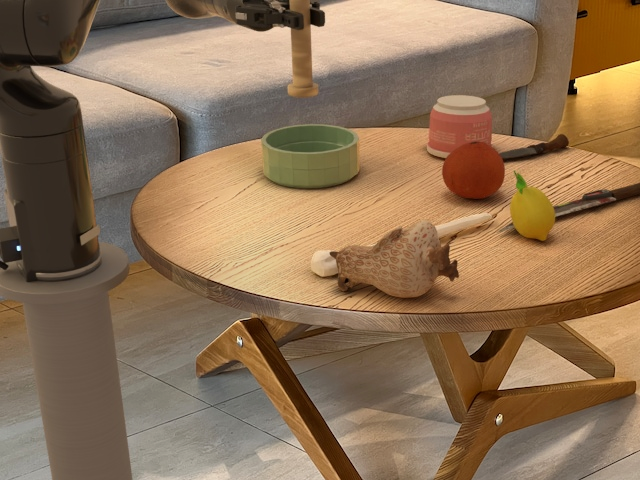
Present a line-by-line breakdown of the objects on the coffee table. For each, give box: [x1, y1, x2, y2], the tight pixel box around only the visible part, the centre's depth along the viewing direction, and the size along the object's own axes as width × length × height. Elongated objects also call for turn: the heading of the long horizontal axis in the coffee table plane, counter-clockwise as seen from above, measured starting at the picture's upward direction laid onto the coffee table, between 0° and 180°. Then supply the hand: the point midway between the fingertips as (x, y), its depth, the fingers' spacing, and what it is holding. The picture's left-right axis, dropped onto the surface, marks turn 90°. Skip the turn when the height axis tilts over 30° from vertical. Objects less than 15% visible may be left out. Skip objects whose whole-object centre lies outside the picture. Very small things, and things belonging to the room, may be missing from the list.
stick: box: [287, 0, 319, 98], centre depth 153 cm, size 4×4×18 cm
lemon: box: [509, 170, 556, 242], centre depth 141 cm, size 7×6×10 cm
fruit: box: [441, 141, 506, 200], centre depth 154 cm, size 9×9×8 cm
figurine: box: [330, 219, 460, 299], centre depth 127 cm, size 9×10×15 cm
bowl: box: [260, 123, 361, 189], centre depth 164 cm, size 14×14×6 cm
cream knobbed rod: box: [310, 212, 493, 278], centre depth 139 cm, size 28×4×3 cm, turn 128°
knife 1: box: [498, 133, 570, 160], centre depth 172 cm, size 17×2×5 cm
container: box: [426, 94, 494, 159], centre depth 172 cm, size 10×10×8 cm
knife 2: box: [496, 182, 640, 234], centre depth 150 cm, size 3×2×30 cm
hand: (311, 20), depth 150 cm, fingers closed on stick, 3 cm apart
